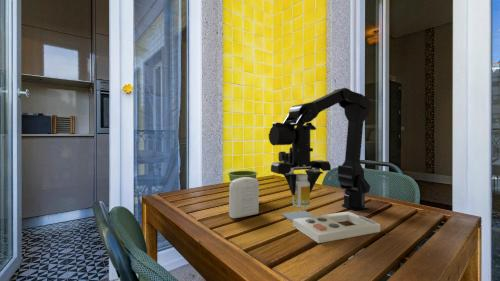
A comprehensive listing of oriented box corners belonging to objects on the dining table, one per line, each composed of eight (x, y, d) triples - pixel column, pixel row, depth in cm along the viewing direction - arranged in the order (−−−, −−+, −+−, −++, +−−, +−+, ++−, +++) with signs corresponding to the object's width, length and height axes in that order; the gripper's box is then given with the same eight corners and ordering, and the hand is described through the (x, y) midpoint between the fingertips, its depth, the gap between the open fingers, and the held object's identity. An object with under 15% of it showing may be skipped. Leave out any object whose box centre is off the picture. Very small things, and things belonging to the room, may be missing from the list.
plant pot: (240, 195, 106) (240, 169, 106) (263, 200, 99) (263, 172, 99) (221, 202, 97) (221, 173, 96) (245, 207, 90) (245, 176, 89)
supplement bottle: (311, 203, 80) (311, 173, 80) (307, 208, 75) (308, 176, 75) (295, 201, 82) (295, 172, 82) (290, 206, 78) (290, 175, 77)
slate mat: (304, 211, 85) (304, 210, 85) (321, 220, 76) (321, 219, 76) (281, 214, 82) (281, 213, 82) (295, 224, 73) (295, 222, 73)
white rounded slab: (253, 210, 86) (253, 175, 86) (260, 214, 82) (260, 176, 82) (227, 216, 80) (226, 178, 80) (233, 220, 77) (233, 180, 76)
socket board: (348, 217, 79) (348, 209, 79) (380, 231, 67) (380, 222, 67) (292, 225, 72) (292, 217, 72) (318, 243, 60) (318, 232, 60)
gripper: (311, 143, 89) (311, 186, 90) (263, 144, 83) (263, 190, 83) (331, 144, 79) (331, 193, 79) (279, 145, 72) (279, 199, 73)
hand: (301, 193), depth 79 cm, fingers closed on supplement bottle, 5 cm apart
